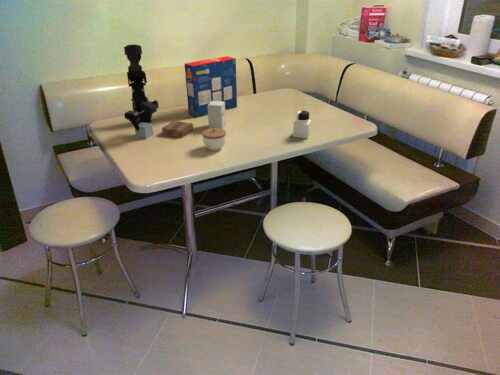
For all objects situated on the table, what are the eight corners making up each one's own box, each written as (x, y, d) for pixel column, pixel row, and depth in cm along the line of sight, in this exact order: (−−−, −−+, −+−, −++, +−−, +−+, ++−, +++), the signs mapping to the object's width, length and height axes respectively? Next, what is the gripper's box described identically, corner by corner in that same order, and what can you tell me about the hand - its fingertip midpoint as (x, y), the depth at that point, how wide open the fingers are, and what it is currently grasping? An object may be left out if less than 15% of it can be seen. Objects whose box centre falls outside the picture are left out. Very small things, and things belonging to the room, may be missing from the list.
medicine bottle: (310, 133, 203) (312, 110, 197) (307, 138, 197) (308, 114, 192) (296, 132, 205) (297, 108, 200) (292, 137, 199) (293, 113, 194)
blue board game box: (228, 104, 246) (227, 56, 233) (237, 107, 241) (235, 58, 227) (188, 114, 231) (184, 63, 217) (196, 117, 226) (192, 66, 212)
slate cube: (136, 137, 202) (134, 126, 199) (143, 133, 206) (141, 122, 204) (146, 139, 200) (144, 127, 197) (153, 134, 204) (151, 123, 202)
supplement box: (222, 129, 209) (221, 105, 203) (208, 129, 210) (206, 105, 204) (226, 124, 215) (225, 101, 209) (212, 124, 217) (211, 100, 211)
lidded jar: (229, 151, 186) (228, 131, 181) (205, 154, 183) (204, 134, 179) (223, 142, 195) (222, 123, 190) (201, 145, 192) (199, 126, 188)
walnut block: (162, 135, 204) (162, 127, 202) (174, 128, 213) (174, 120, 211) (182, 138, 201) (181, 130, 199) (193, 130, 209) (192, 123, 207)
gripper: (141, 103, 183) (146, 136, 191) (164, 92, 198) (168, 123, 206) (121, 101, 187) (126, 133, 194) (145, 90, 202) (149, 120, 209)
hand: (143, 127), depth 201 cm, fingers open, 9 cm apart
